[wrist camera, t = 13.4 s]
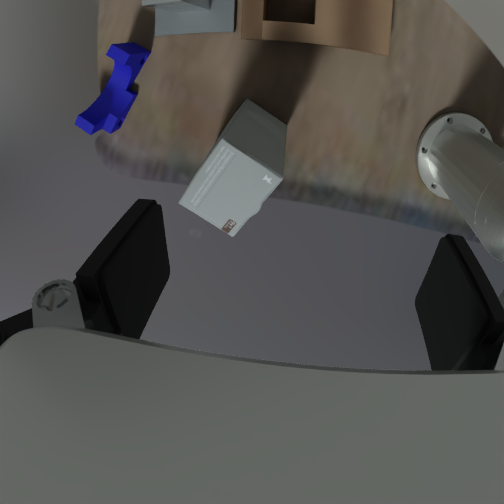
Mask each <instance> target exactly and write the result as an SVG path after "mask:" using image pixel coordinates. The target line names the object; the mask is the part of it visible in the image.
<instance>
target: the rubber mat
mask: <svg viewBox="0 0 504 504" xmlns="http://www.w3.org/2000/svg"><path fill="white" fill-rule="evenodd" d="M235 10H236V0H210V10H205V11H188V12H174V11H169V10H164V9H158V8H155V36H164V35H175V34H188V33H207V32H235Z"/></svg>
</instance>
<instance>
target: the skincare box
mask: <svg viewBox="0 0 504 504" xmlns="http://www.w3.org/2000/svg"><path fill="white" fill-rule="evenodd" d="M286 133H287V125H285V124H284V123H283V122H281V121H280V120H278V119H277V118H275V117H274V116H273V115H271V114H270V113H268V112H267V111H265V110H264V109H262V108H261V107H260V106H258V105H256V104H255V103H253V102H252V101H250V100H249V99H246V100H245V101H244V102H243V104H242V105H241V106H240V108H239V109H238V110H237V112H236V113H235V114H234V116H233V117H232V118H231V120H230V121H229V123H228V124H227V126H226V127H225V129H224V130H223V132H222V133H221V135H220V136H219V138H218V139H217V141H216V143H215V144H214V146H213V147H212V149H211V151H210V152H209V154H208V155H207V157H206V159H205V160H204V162H203V163H202V165H201V167H200V168H199V170H198V171H197V173H196V174H195V176H194V178H193V179H192V181H191V182H190V184H189V185H188V187H187V189H186V190H185V192H184V194H183V196H182V197H181V199H180V201H179V204H181V205H183V206H184V207H186V208H187V209H189V210H191V211H192V212H194V213H196V214H197V215H199V216H200V217H202V218H204V219H205V220H207V221H209V222H210V223H212V224H213V225H215V226H216V227H218V228H219V229H221V230H223V231H224V232H226V233H227V234H229V235H230V236H234V235H235V234H236V233H237V232H238V231H239V229H240V228H241V227H242V226H243V224H245V222H246V221H247V220H248V219H249V218H250V217H251V216H253V215H254V214H256V213H257V212H258V211H259V209H260V208H261V204H262V203H263V202H264V200H265V199H266V198H267V197H268V196H269V195H270V194H271V193H272V192H273V190H274V189H275V188H276V187H277V186H278V185H279V183H280V182H281V181H282V180H283V172H284V159H285V146H286Z"/></svg>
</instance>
